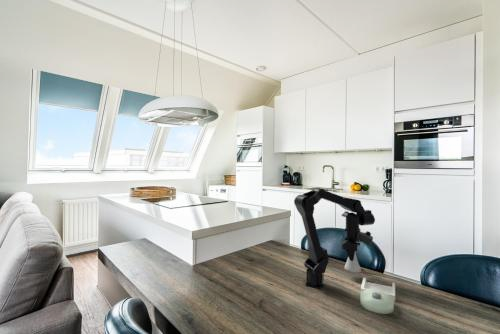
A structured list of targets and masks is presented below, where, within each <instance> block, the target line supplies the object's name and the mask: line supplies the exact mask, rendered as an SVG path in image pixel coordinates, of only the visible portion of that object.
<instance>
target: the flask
mask: <svg viewBox="0 0 500 334" xmlns="http://www.w3.org/2000/svg"><path fill="white" fill-rule="evenodd" d="M356 252H357V251H356ZM356 252H355V255H354V260H353V261H350V259H349V257H348V256H347V259H346V262H345V265H344V267H343V268H344V270H345V271H347V272H352V273H359V272H361V270H362V269H361V266H360V264H359V260H358V257H357V253H356Z"/></svg>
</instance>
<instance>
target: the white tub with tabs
mask: <svg viewBox="0 0 500 334" xmlns="http://www.w3.org/2000/svg"><path fill="white" fill-rule="evenodd" d="M361 282H362V283H361V286H360V296H359V297H360V302H359V303H360V305H361V306H362V307H363V308H364V309H365V310H368V311H369V312H372V313H376V314H380V315H389V314H391V313H393V312H394V311H395V303H396V282H392V284H391V286H390V285H384V284H379V283H374V282H369V281H367V277H366V276H363V278H362V281H361Z"/></svg>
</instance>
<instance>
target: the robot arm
mask: <svg viewBox="0 0 500 334" xmlns="http://www.w3.org/2000/svg"><path fill="white" fill-rule="evenodd" d="M321 199H322V200H325V201H328V202H331V203H333V204H337V205H338V206H339V207H341V208H343V210H345V211H344V212H343V213H342V214H341V217H343V218H345V227H344V231H345V237H344V240H345V241H343V243H342V244H341V248H342V250H344V251H345V252H346V255H347V258H348V257H349V259H350V261H353V260H354V255H355V252H358V250H359V248H360V247H359V246H360V245H361V243H363V244H365V245H367V246H371V245H372V242H373V240H374V236H372V232H370V231H366V232H363V231H361V228H360V226H372V225H374V224H375V223H376V222H375V221H376V218H375V216H374V214H373V212H372V210H370V209H365V208H364V207H363V205H362V201H361V200H359V199H356V198H350V197H345V196H341V195H339V194H336V193H333V192H331V191H328V190H325V189H324V188H319V187H316V188H314V189H312V190H310V191H307V192H305V193H303V194H298V195H296V197H295V198H294V200H293V202H294V203H293V204H294V205H295V208H296V210H297V211H298V213H299V215H300V216H301V220H302V223H303V226H304V230H305V234H306V238H307V241H308V246H309V248H308V251H307V253H308V257H307V258H306V259H305V261H304V262H303V265H304V267H305V268H306V271H305V272H306V282H305V283H304V286H307V287H311V288H315V289H321V288H322V286H323V285H324V283H325V279H324V278H325V276H324V275H325V273H326V270H327V266H328V265H329V259H330V257H329V253H328V250H327V248H325V247H323V246H322V245H321V242H320V238H319V233H318V229H317V227H316V221H315V218H314V211H315V205H317V204H318V203H319V202H320V201H321Z"/></svg>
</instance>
